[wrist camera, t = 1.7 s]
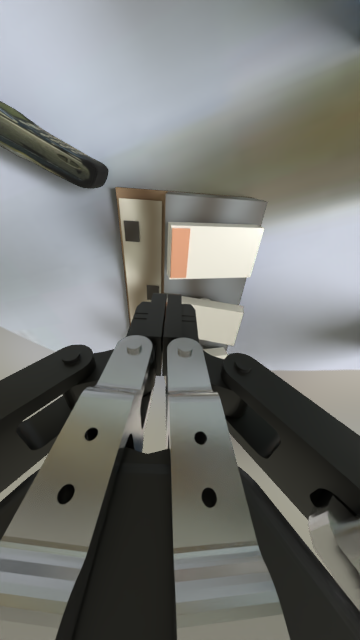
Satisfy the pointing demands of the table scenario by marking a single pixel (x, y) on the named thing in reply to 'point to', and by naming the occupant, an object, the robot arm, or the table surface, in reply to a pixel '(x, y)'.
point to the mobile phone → (48, 150)
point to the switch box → (152, 242)
